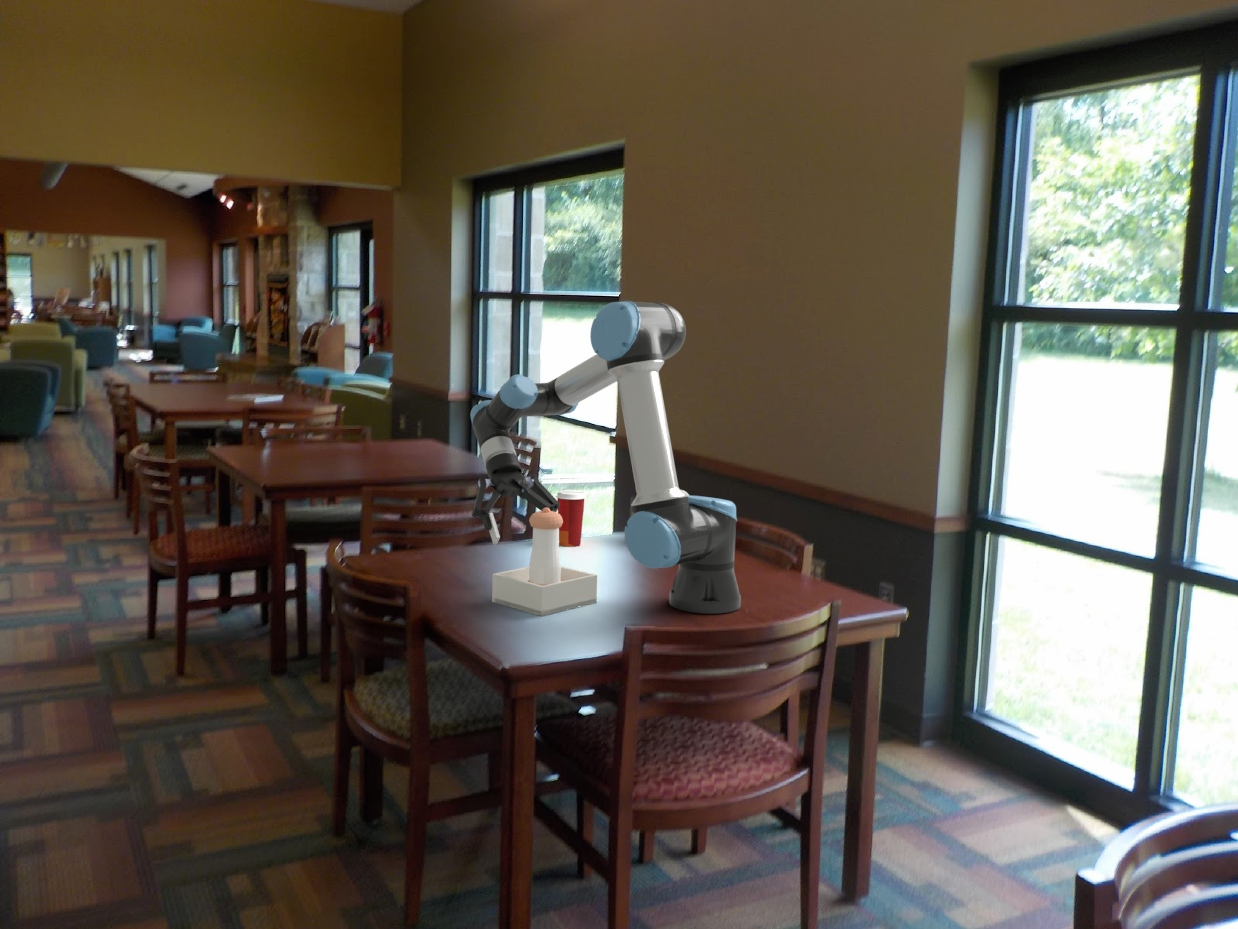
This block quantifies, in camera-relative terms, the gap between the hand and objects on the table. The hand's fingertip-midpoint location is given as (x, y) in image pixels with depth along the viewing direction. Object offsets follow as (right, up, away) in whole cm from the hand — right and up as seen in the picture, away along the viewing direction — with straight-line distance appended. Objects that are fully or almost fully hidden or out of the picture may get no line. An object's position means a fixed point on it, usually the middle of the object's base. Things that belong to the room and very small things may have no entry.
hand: (526, 539), depth 246 cm
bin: (+4, -13, -7) cm, 15 cm away
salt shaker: (+4, -12, -7) cm, 15 cm away
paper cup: (+7, -5, +52) cm, 53 cm away
